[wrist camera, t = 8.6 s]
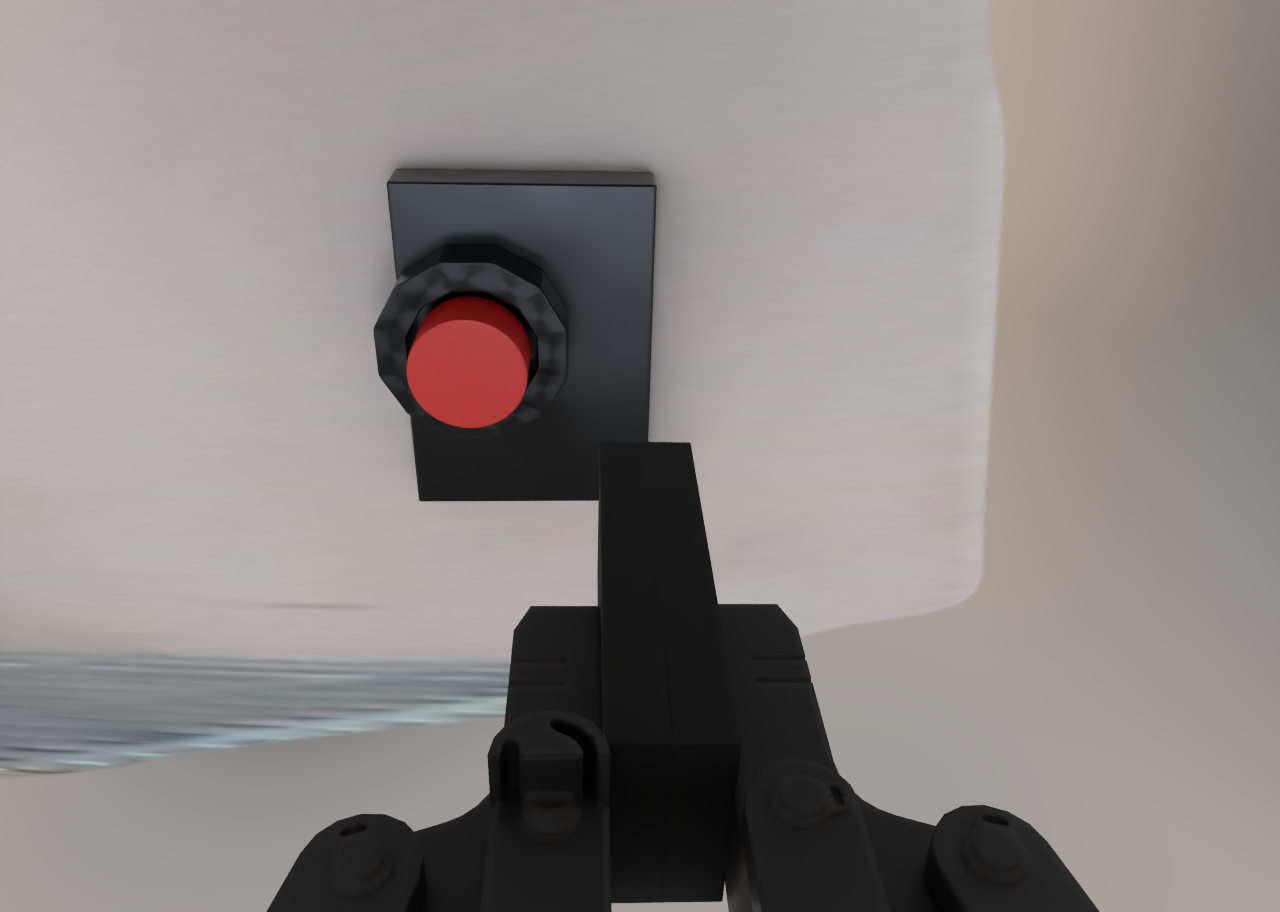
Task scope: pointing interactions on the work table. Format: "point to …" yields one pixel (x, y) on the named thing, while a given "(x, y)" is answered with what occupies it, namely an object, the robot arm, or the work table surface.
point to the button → (469, 362)
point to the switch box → (528, 320)
